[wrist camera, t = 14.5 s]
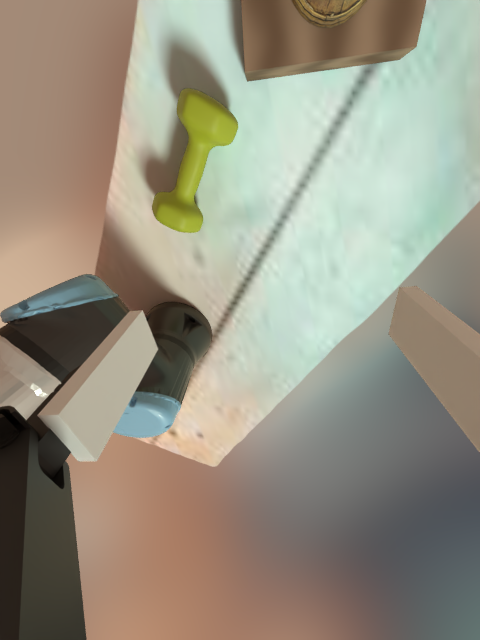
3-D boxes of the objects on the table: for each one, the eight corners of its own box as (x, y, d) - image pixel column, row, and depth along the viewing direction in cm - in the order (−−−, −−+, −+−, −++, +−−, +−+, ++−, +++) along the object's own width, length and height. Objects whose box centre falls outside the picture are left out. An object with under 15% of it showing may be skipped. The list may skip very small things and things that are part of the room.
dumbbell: (191, 87, 32) (174, 71, 26) (245, 121, 33) (240, 113, 27) (158, 208, 41) (139, 216, 35) (202, 231, 42) (191, 243, 36)
